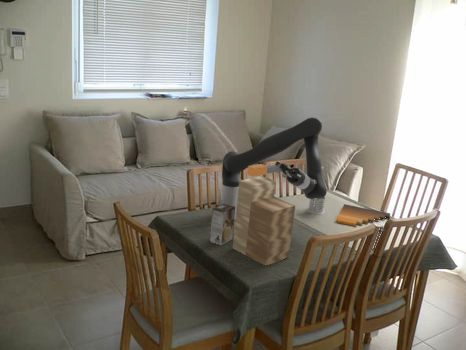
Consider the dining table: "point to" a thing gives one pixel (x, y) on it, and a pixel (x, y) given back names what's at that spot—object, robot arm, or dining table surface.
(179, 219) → the dining table surface
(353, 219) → the pan flute
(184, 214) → the dining table surface
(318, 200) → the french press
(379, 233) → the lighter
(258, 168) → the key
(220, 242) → the coffee box
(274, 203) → the stand
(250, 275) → the dining table surface
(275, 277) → the dining table surface
